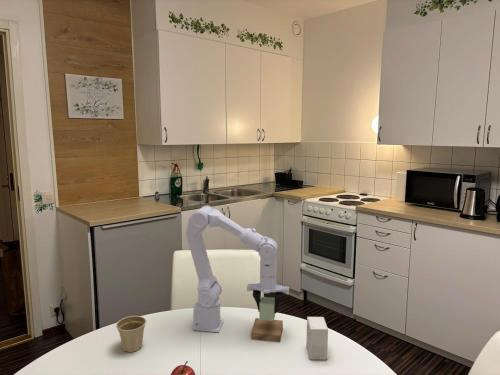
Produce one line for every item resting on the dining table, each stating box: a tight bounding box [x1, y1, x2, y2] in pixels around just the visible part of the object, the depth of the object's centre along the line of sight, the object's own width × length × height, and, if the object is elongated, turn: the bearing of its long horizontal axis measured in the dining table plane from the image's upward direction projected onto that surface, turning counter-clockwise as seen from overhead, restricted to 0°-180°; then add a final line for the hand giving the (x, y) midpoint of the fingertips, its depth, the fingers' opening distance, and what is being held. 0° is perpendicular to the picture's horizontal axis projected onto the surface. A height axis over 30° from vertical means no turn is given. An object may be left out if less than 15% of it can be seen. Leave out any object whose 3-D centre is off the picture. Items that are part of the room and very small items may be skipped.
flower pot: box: [115, 315, 147, 353], centre depth 124 cm, size 9×9×9 cm
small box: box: [306, 316, 329, 361], centre depth 121 cm, size 8×6×10 cm
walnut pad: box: [250, 317, 284, 343], centre depth 133 cm, size 10×10×3 cm
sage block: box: [258, 296, 276, 321], centre depth 131 cm, size 5×5×6 cm
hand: (267, 311), depth 132 cm, fingers closed on sage block, 5 cm apart
